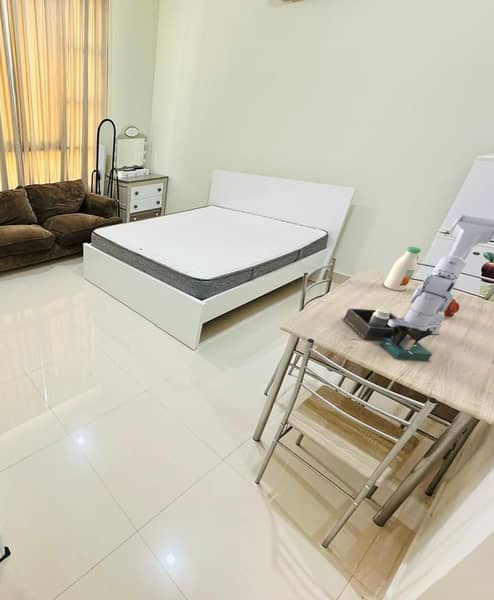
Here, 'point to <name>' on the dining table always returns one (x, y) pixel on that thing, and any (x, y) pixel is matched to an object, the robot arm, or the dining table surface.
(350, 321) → the dark open box
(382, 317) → the pill bottle
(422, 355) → the teal flat box
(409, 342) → the white rectangular block
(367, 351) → the dining table surface
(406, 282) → the milk bottle
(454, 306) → the dragon fruit
